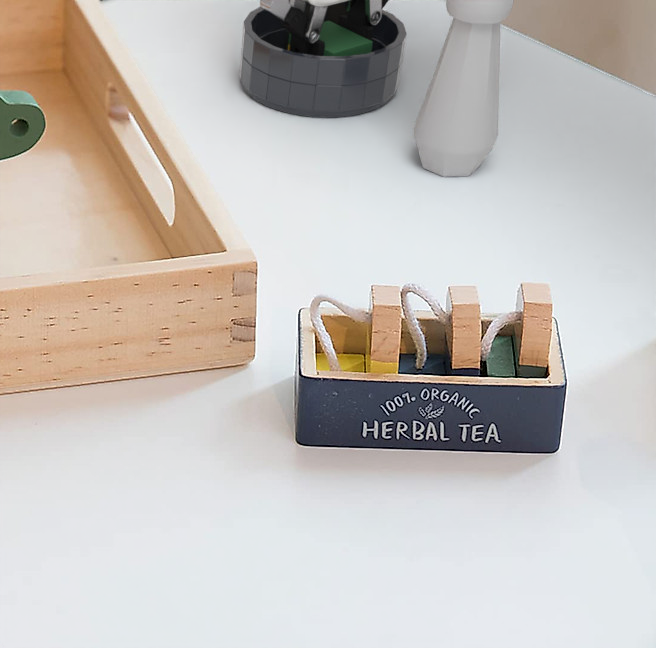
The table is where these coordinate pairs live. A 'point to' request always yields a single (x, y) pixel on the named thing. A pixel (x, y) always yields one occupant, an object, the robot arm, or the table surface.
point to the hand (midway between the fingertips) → (326, 77)
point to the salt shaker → (463, 91)
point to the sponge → (341, 41)
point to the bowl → (319, 68)
